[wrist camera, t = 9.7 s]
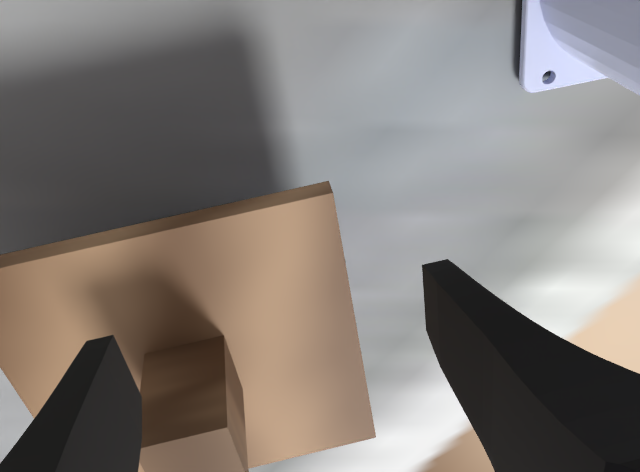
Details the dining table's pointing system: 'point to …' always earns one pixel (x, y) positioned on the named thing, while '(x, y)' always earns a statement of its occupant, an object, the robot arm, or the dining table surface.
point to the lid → (203, 329)
